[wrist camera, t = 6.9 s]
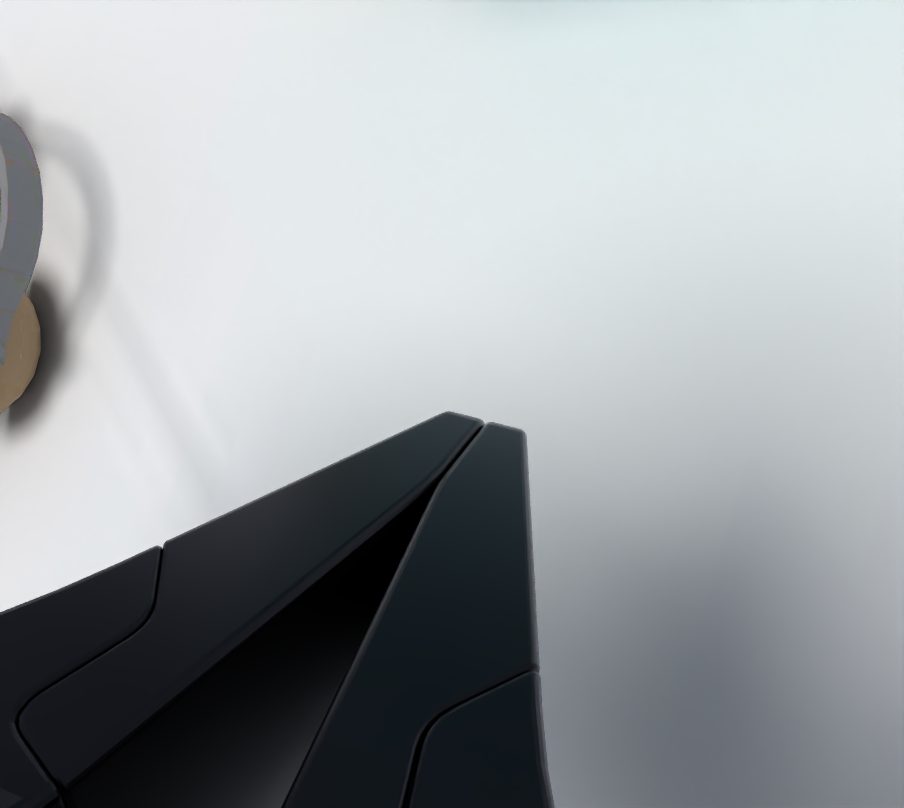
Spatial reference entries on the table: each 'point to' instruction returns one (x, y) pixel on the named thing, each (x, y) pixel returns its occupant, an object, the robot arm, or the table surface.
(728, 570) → the table surface
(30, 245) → the alarm clock
